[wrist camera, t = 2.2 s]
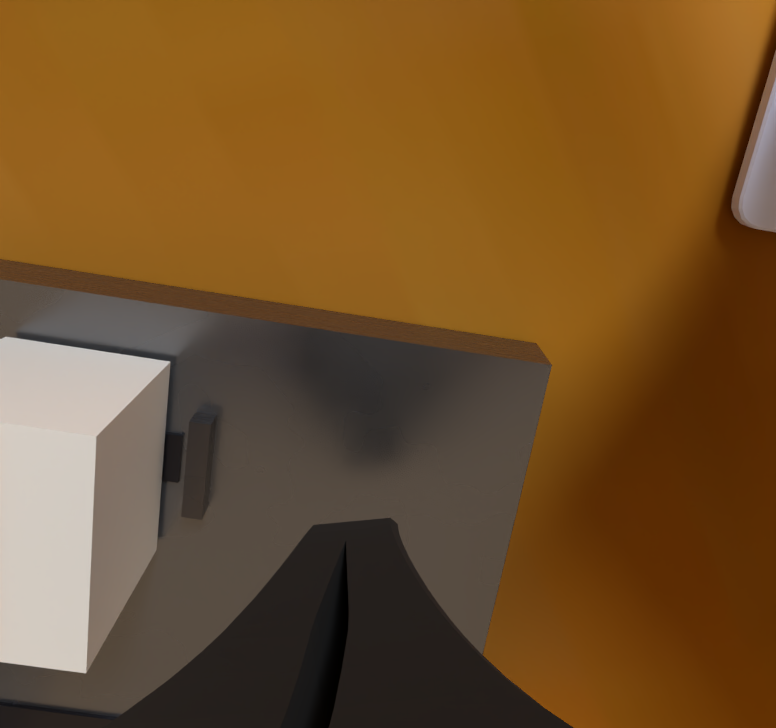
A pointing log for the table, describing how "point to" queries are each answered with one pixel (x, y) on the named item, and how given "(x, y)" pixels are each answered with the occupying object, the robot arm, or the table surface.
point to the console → (283, 461)
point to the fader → (75, 495)
